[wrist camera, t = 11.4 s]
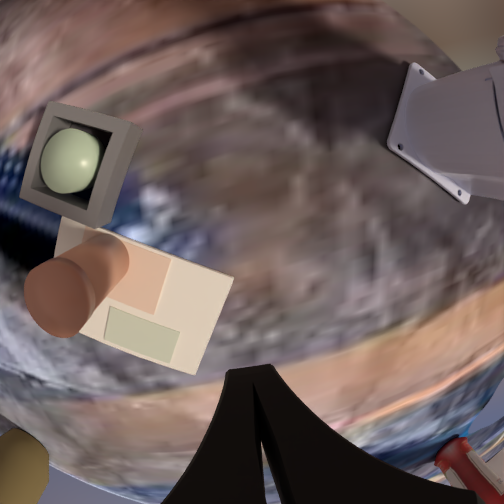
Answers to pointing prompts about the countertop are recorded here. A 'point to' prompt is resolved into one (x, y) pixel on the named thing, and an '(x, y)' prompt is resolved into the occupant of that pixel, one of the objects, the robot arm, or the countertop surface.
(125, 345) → the sheet
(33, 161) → the button housing
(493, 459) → the milk
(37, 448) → the squeeze bottle
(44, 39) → the countertop surface
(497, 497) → the liquor
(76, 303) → the brown round-topped peg
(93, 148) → the button
